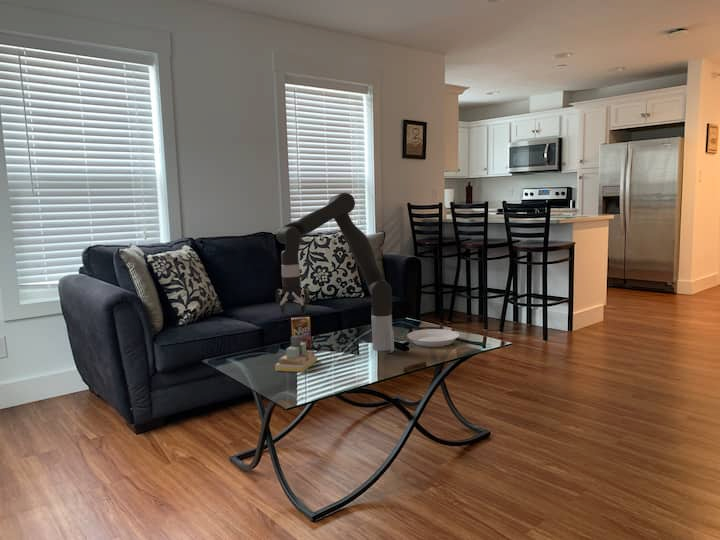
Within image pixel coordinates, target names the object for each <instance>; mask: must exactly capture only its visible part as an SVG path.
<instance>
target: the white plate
mask: <svg viewBox="0 0 720 540" xmlns="http://www.w3.org/2000/svg"><path fill="white" fill-rule="evenodd" d="M406 336H407V338H408V339H410V340H411V341H412V342H413V343H414V344H415V345H417V346H420V347H429V348H431V347H432V348H435V347H446V346H448V345H449V346H450V345H451V344H453V342H454V341H455V340H456V339H457V338H459V336H460V333H459V332H457V331H454V330H451V329H450V330H449V329H445V328H443V329H442V328H425V329H420V330H419V329H418V330H414V331H411V332H409V333H407V335H406ZM445 345H446V346H445Z"/></svg>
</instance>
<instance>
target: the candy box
mask: <svg viewBox="0 0 720 540" xmlns="http://www.w3.org/2000/svg"><path fill="white" fill-rule="evenodd" d="M290 319H291V320H290V321H291V322H290V323H291V337H292V336H294V335H296V336H300V340H301V342H306V348H307V349H312V339H311V338H312V336H311V335H312V334H311V318H310V316H300V317H291V318H290Z"/></svg>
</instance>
